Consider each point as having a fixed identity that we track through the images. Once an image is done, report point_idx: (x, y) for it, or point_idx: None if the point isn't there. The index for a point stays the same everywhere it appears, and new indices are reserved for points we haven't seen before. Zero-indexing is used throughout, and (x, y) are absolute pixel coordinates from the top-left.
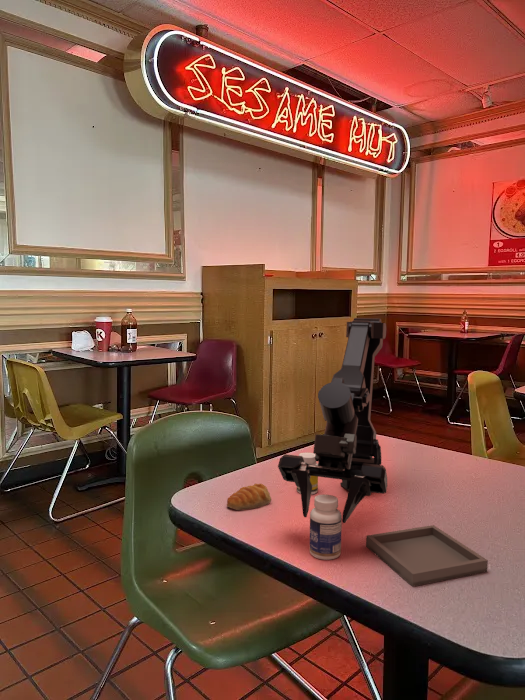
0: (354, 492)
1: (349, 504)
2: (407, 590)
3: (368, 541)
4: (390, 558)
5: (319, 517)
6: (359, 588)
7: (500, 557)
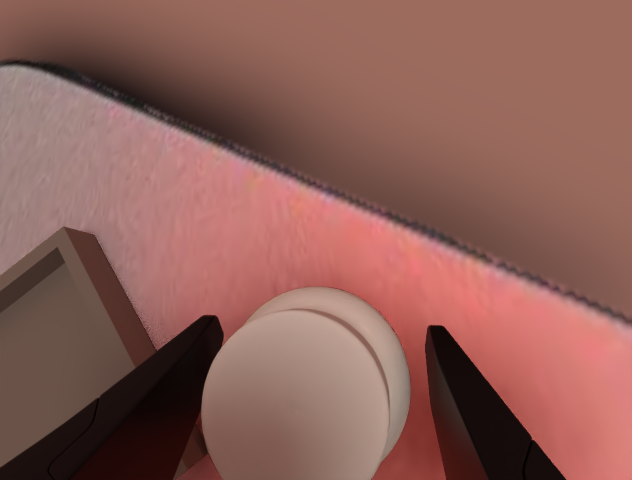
0: (23, 467)
1: (130, 382)
2: (107, 214)
3: (188, 446)
4: (119, 320)
5: (333, 294)
6: (215, 180)
7: None
